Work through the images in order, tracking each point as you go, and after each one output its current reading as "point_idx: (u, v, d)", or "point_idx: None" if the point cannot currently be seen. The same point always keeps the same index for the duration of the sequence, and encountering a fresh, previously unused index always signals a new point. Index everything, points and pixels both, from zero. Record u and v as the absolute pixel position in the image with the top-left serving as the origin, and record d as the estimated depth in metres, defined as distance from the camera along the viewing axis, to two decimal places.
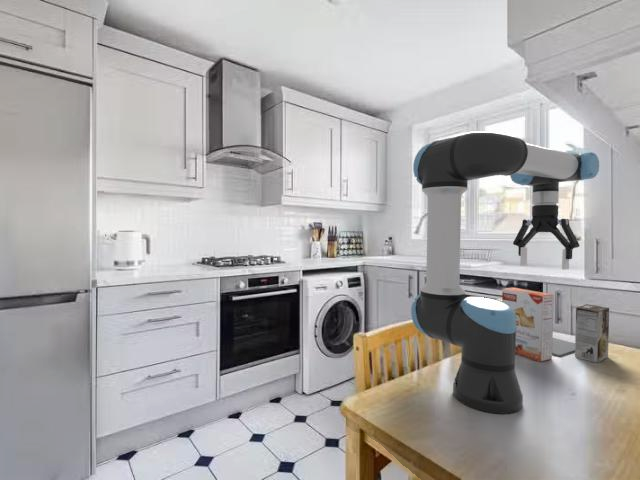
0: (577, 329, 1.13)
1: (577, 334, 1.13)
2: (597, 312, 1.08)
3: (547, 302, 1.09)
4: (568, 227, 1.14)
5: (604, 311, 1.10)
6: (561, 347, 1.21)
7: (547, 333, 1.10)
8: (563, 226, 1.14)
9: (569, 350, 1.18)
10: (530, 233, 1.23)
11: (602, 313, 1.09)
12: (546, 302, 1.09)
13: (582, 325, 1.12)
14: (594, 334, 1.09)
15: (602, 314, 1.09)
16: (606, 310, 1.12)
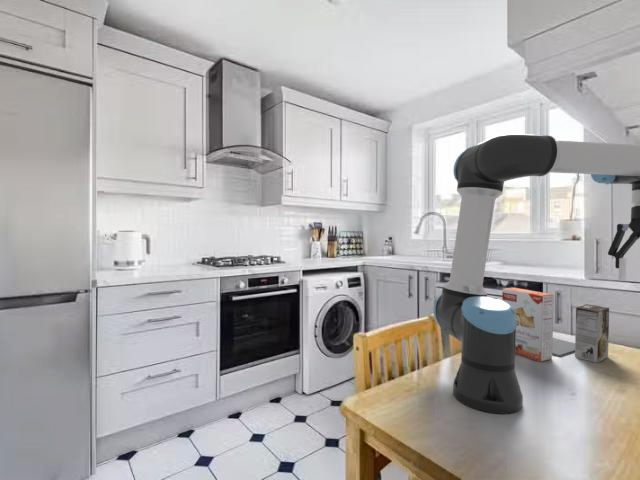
0: (577, 329, 1.13)
1: (577, 334, 1.13)
2: (597, 312, 1.08)
3: (547, 302, 1.09)
4: None
5: (604, 311, 1.10)
6: (561, 347, 1.21)
7: (547, 333, 1.10)
8: None
9: (569, 350, 1.18)
10: (630, 240, 1.04)
11: (602, 313, 1.09)
12: (546, 302, 1.09)
13: (582, 325, 1.12)
14: (594, 334, 1.09)
15: (601, 314, 1.09)
16: (606, 310, 1.12)
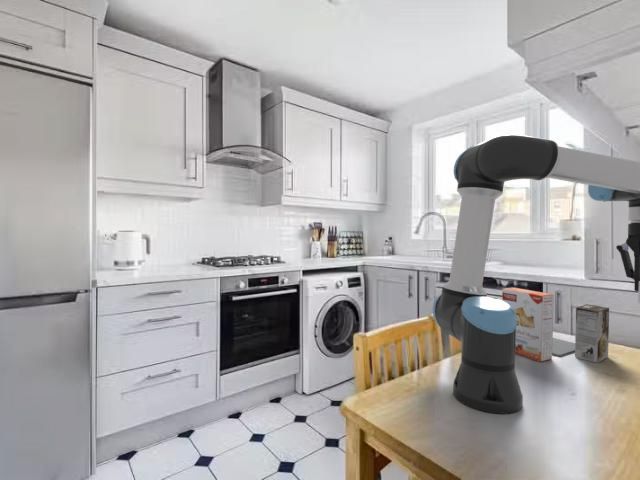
0: (577, 329, 1.13)
1: (577, 334, 1.13)
2: (597, 312, 1.08)
3: (547, 302, 1.09)
4: None
5: (604, 311, 1.10)
6: (561, 347, 1.21)
7: (547, 333, 1.10)
8: None
9: (569, 350, 1.18)
10: (637, 258, 1.03)
11: (602, 313, 1.09)
12: (546, 302, 1.09)
13: (582, 325, 1.12)
14: (594, 334, 1.09)
15: (601, 314, 1.09)
16: (606, 310, 1.12)
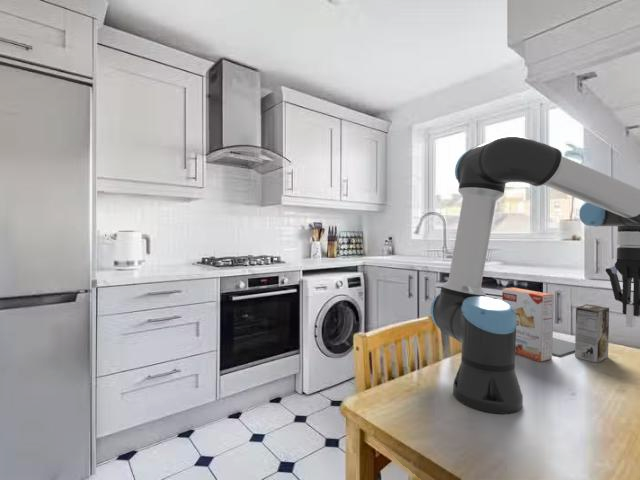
0: (577, 329, 1.13)
1: (577, 334, 1.13)
2: (597, 312, 1.08)
3: (547, 302, 1.09)
4: None
5: (604, 311, 1.10)
6: (561, 347, 1.21)
7: (547, 333, 1.10)
8: None
9: (569, 350, 1.18)
10: (625, 282, 1.05)
11: (602, 313, 1.09)
12: (546, 302, 1.09)
13: (582, 325, 1.12)
14: (594, 334, 1.09)
15: (601, 314, 1.09)
16: (606, 310, 1.12)
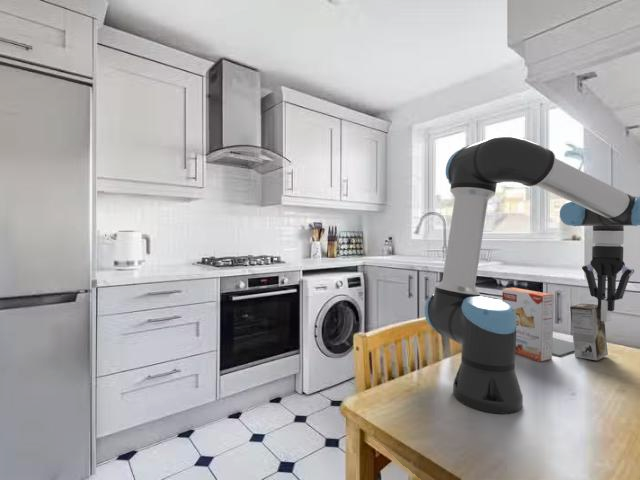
0: (573, 328, 1.14)
1: (574, 333, 1.14)
2: (590, 309, 1.10)
3: (548, 302, 1.09)
4: (627, 279, 1.05)
5: None
6: (561, 347, 1.21)
7: (547, 333, 1.10)
8: (623, 276, 1.05)
9: (569, 350, 1.18)
10: (600, 279, 1.10)
11: (595, 310, 1.11)
12: (546, 302, 1.09)
13: (578, 324, 1.13)
14: (590, 332, 1.10)
15: (595, 311, 1.11)
16: None
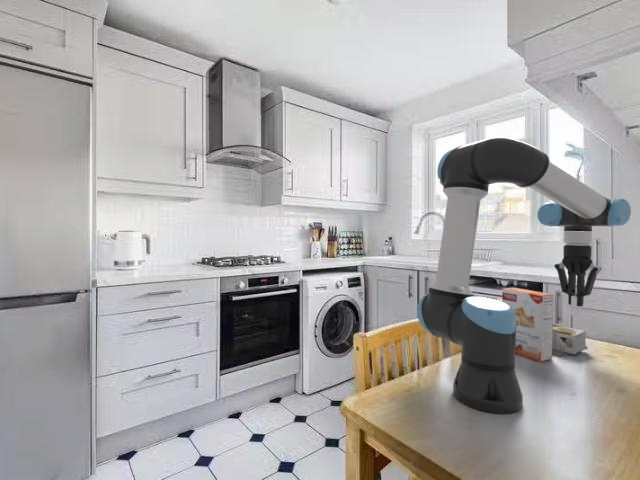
0: None
1: None
2: None
3: (547, 302, 1.09)
4: (594, 276, 1.13)
5: None
6: None
7: (547, 333, 1.10)
8: (591, 273, 1.12)
9: None
10: (570, 276, 1.18)
11: None
12: (546, 302, 1.09)
13: None
14: None
15: None
16: None
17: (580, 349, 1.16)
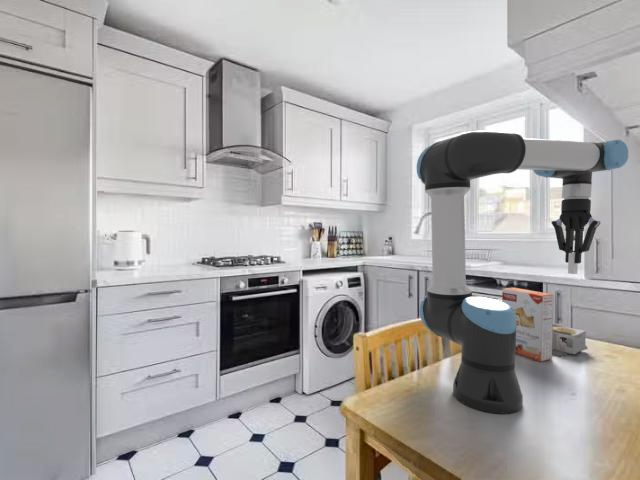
0: None
1: None
2: None
3: (547, 302, 1.09)
4: (593, 230, 1.07)
5: None
6: None
7: (547, 333, 1.10)
8: (590, 227, 1.07)
9: None
10: (568, 232, 1.12)
11: None
12: (546, 302, 1.09)
13: None
14: None
15: None
16: None
17: (580, 349, 1.16)
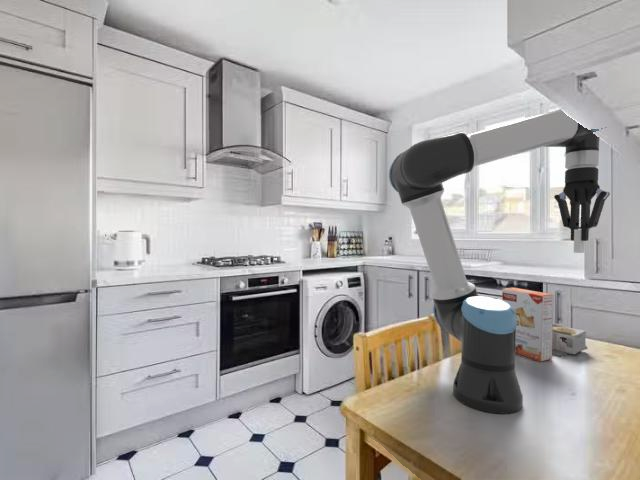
0: None
1: None
2: None
3: (547, 302, 1.09)
4: (602, 203, 0.95)
5: None
6: None
7: (547, 333, 1.10)
8: (597, 199, 0.95)
9: None
10: (573, 206, 1.00)
11: None
12: (546, 302, 1.09)
13: None
14: None
15: None
16: None
17: (580, 349, 1.16)
